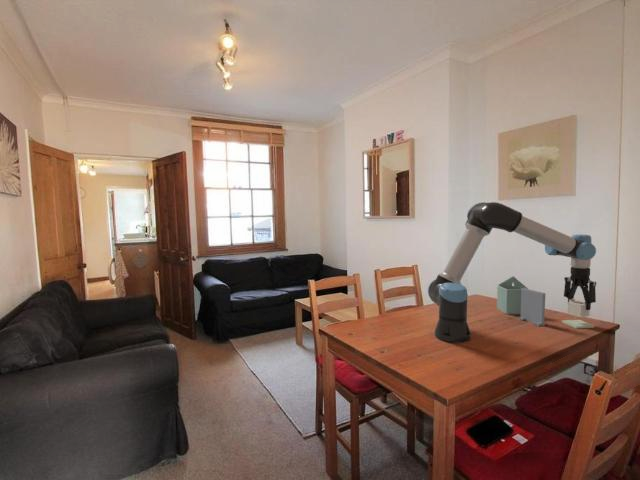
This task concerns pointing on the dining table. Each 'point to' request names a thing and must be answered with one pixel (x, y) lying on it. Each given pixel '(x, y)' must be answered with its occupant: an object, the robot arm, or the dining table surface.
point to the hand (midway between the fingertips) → (578, 314)
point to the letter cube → (576, 308)
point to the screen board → (532, 306)
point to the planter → (509, 296)
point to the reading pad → (578, 324)
